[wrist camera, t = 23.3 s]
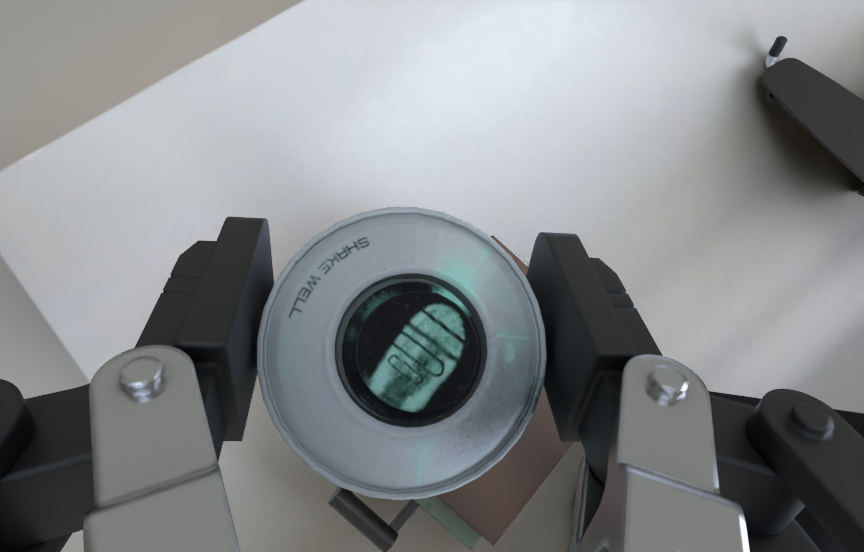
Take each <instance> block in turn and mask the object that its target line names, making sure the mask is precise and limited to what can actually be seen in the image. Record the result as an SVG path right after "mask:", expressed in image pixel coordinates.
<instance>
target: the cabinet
mask: <svg viewBox="0 0 864 552" xmlns="http://www.w3.org/2000/svg"><path fill="white" fill-rule="evenodd" d="M491 238H492V239H493V240H494V241H496V242H497V243H498V244H499V245H500V246H501V247H502V248H503V249H504V250H505V251H506V252H507V253H508V254H509V255H510V256H511V257H512V258H513V260H514V261H515V263H516V264H517V265H518V267H519V268H520V269H521V271H522V272H523V274H524V275H525V276H526V274H527V271H528V267H527V266H526V265H525V264H524V263H523V262H522V261H521V260H520V259H518V258H517V257H516V256H515V255H514V254H513V253H512V252H511V251H510V250H508V249H507V248H506V247H505V246H504V245H503V244H502V243H501V242H500V241H499V240H497V239H496V238H495V237H494V236H491ZM572 443H573V442H561V440H560V437H559V434H558V431H557V427H556V424H555V421H554V418H553V414H552V411H551V408H550V405H549V402H548V398H547V395H546V392H545V389H544V385H543V387H542V390H541V393H540V396H539V399H538V402H537V405H536V409H535V412H534V414H533V415H532V417H531V419H530V421H529V423H528V424H527V426H526V428H525V430H524V432H523V433H522V435H521V437H520V438H519V439H518V441H517V442H516V443H515V444H514V445H513V446H512V448H511V449H510V450H509V451H508V452H507V454H506V455H505V456H504V457H503V458H502V459H501V460H500V461H499V462H498V463H496V464H495V465H494V466H493V467H491V468H490V469H489V470H488V471H486V472H485V473H484V474H482V475H481V476H480V477H478V478H476V479H475V480H473V481H471V482H469V483H467V484H465V485H463V486H461V487H459V488H457V489H455V490H453V491H449V492H446V493H442V494H439V495H437V496H438V497H439V498H440V499H441V500H442V501H443V502H445V503H446V504H447V505H448V506H449V507H450V508H451V509H452V510H454V511H455V512H456V513H457V514H458V515H459V516H460V517H461V518H463V519H464V520H465V521H466V522H467V523H468V524H469V525H470V526H472V527H473V528H474V529H475V530H476V531H477V532H478V533H479V534H481V535H482V536H483V537H484V538H485V539H486V540H487V541H488V542H490V543H491V544H492V545H494V544H495V543H496V542H497V540H498V539H499V538H500V536H501V535H502V534H503V533H504V531H505V530H506V529H507V527H508V526H509V525H510V523H511V522H512V521H513V520H514V518H515V517H516V516H517V514H518V513H519V512H520V511H521V509H522V508H523V507H524V505H525V504H526V503H527V502H528V500H529V499H530V498H531V496H532V495H533V494H534V492H535V491H536V490H537V489H538V487H539V486H540V485H541V483H542V482H543V481H544V480H545V478H546V477H547V476H548V474H549V473H550V472H551V470H552V469H553V468H554V467H555V465H556V464H557V463H558V461H559V460H560V459H561V458H562V456H563V455H564V454H565V452H566V451H567V450H568V448H569V447H570V446H571V445H572Z"/></svg>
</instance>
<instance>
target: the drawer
mask: <svg viewBox="0 0 864 552" xmlns="http://www.w3.org/2000/svg"><path fill="white" fill-rule="evenodd" d="M328 504H329V505H330V506H331V507H332V508H334V509H335V510H336V511H337V512H338V513H339V514H340V515H342V516H343V517H344V518H345V519H346V520H347V521H348V522H349V523H351V524H352V525H353V526H354V527H355V528H356V529H357V530H359V531H360V532H361V533H362V534H363V535H364V536H365V537H366V538H368V539H369V540H370V541H371V542H372V543H373V544H374V545H376V546H377V547H378V548H379V549H380V550H381V551H382V552H387V551H388V550H389V549H390V548H391V547H392V546H393V544H394V543H395V541H396V539H397V537H398V533H397V532H398V531H399V529H400V528H401V527H402V526H403V525H404V523H405V522H406V521H407V520H408V518H409V517H410V516H411V515H412V513H413V512H414V511H415V510H416V509H417V507H418V506H419V505H420V506H421V507H422V508H424V509H425V510H426V511H427V512H428V513H429V514H430V515H431V516H433V517H434V518H435V519H436V520H437V521H438V522H439V523H441V524H442V525H443V526H444V527H445V528H446V529H447V530H448V531H450V532H451V533H452V534H453V535H454V536H455V537H456V538H457V539H459V540H460V541H461V542H462V543H463V544H464V545H465V546H466V547H468V548H469V549H471V548H472V547H473V546H474V545H475V543H476V542H477V541H478V539H479V538H480V537H481V536H482V535H481V534H479V533H478V532H477V531H476V530H475V529H474V528H473V527H472V526H470V525H469V524H468V523H467V522H466V521H465V520H464V519H463V518H461V517H460V516H459V515H458V514H457V513H456V512H455V511H454V510H452V509H451V508H450V507H449V506H448V505H447V504H446V503H445V502H443V501H442V500H441V499H440V498H439V497H438V496H437V495H435V496H432V497H428V498H422V499H410V500H409V502H408V503H407V504H406V505H405V507H404V508H403V509H402V510H401V511H400V513H399V514H398V515H397V516H396V518H395V519H394V520H393V521H392V522H391V524H390V526H389V525H388V524H387V523H386V522H385V521H384V520H383V519H382V518H380V517H379V516H378V515H377V514H376V513H375V512H374V511H373V510H371V509H370V508H369V507H368V506H367V505H366V504H365V503H363V502H362V501H361V500H360V499H359V498H358V497H357V496H356V495H354V494H353V491H350V490H347V489H344V488H342V487H339V488H338V489H337V490H336V491H335V492H334V494H333V495H332V496H331V498H330V499H329V501H328Z"/></svg>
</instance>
